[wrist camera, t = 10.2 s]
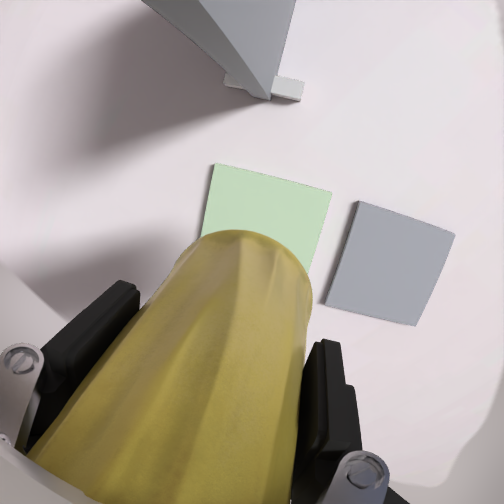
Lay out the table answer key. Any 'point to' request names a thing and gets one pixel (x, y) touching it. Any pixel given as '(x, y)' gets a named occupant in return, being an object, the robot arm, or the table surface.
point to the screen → (239, 39)
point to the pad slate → (388, 265)
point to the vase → (195, 385)
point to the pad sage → (267, 209)
